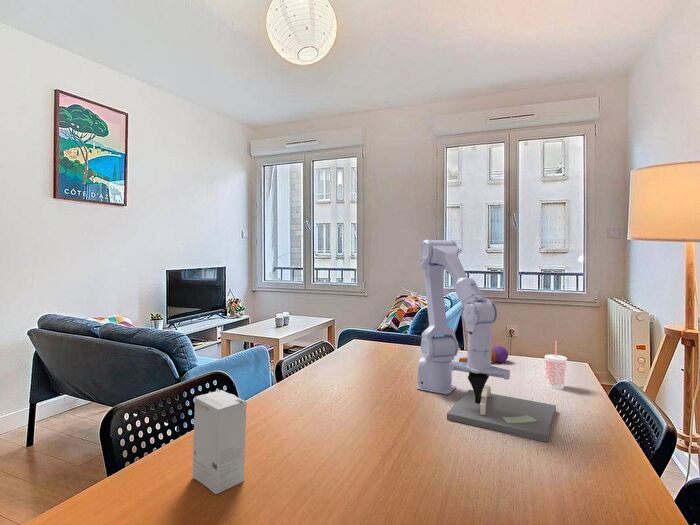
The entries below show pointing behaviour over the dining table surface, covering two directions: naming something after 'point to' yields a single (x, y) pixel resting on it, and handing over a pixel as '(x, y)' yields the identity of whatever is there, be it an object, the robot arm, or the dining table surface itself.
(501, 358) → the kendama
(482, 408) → the cream bar
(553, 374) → the beverage cup
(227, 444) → the skincare box
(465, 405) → the board
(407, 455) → the dining table surface
